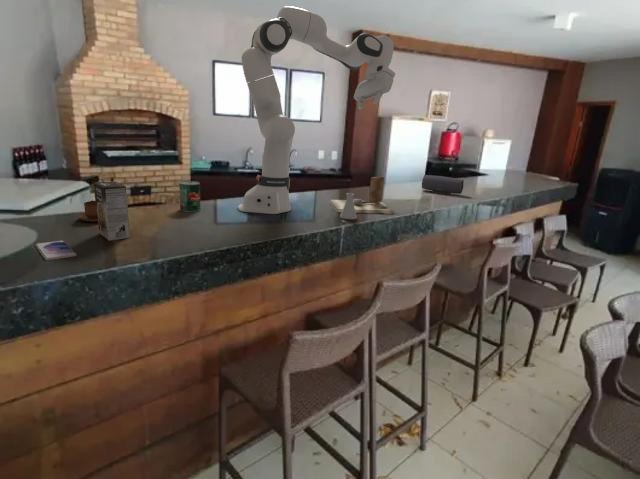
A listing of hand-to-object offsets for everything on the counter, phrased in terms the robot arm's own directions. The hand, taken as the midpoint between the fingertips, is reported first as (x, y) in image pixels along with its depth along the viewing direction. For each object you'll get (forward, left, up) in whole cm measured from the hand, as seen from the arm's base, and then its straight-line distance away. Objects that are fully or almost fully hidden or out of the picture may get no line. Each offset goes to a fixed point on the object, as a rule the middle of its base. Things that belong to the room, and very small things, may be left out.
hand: (367, 106), depth 164 cm
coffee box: (-87, -45, -45) cm, 108 cm away
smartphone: (-97, -59, -45) cm, 123 cm away
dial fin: (+6, +8, -43) cm, 44 cm away
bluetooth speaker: (+64, +55, -45) cm, 95 cm away
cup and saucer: (-99, -26, -45) cm, 112 cm away
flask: (-7, -14, -45) cm, 47 cm away
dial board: (+2, +6, -44) cm, 45 cm away
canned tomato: (-71, -7, -45) cm, 84 cm away
